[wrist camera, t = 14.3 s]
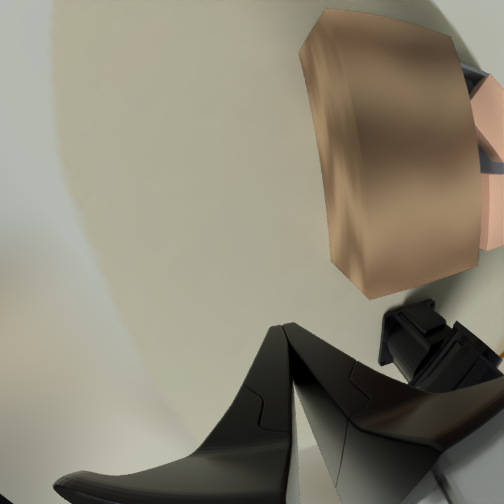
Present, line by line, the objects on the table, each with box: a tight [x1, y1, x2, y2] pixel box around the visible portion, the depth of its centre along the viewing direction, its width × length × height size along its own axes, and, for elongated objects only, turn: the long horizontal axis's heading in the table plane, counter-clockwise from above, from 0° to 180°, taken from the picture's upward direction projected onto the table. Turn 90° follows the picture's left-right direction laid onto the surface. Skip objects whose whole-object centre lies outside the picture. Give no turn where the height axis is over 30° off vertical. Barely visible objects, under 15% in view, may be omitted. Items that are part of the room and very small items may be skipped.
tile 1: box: [479, 171, 504, 251], centre depth 17 cm, size 6×6×3 cm
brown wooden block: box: [299, 8, 481, 300], centre depth 16 cm, size 17×10×7 cm, turn 9°
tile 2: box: [469, 74, 504, 163], centre depth 15 cm, size 6×6×3 cm
